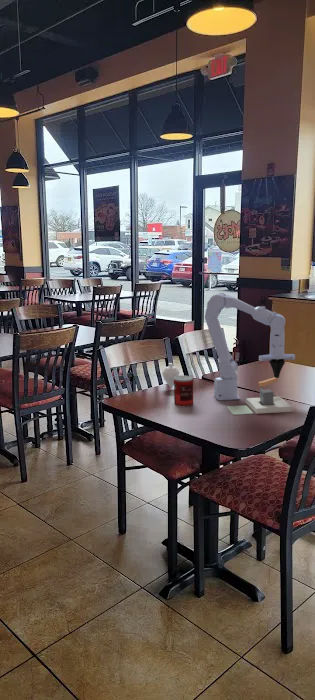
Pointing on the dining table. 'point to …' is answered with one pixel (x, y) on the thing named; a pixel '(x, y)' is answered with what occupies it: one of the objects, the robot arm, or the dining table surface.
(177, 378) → the canned food
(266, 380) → the bar
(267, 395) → the gray rectangular block
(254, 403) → the socket block
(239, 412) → the mat
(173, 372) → the spinning top
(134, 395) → the dining table surface
